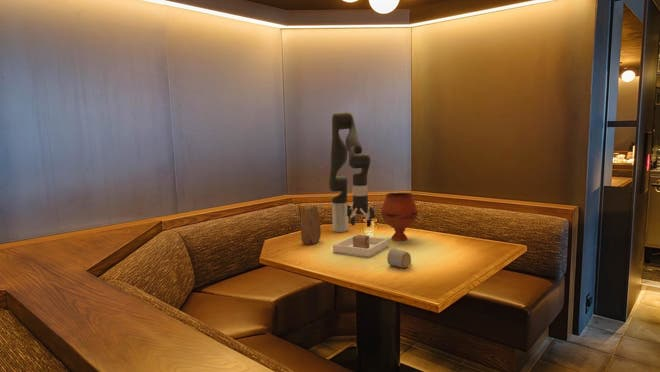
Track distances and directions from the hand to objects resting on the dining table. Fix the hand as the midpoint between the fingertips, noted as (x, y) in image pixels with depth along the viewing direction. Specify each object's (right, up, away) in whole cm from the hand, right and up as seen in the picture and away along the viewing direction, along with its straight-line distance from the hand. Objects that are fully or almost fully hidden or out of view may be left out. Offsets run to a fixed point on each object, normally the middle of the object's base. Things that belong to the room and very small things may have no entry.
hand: (360, 226), depth 212 cm
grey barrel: (+16, -15, -26) cm, 34 cm away
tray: (0, -12, +1) cm, 12 cm away
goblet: (+23, -9, +20) cm, 32 cm away
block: (-25, -11, +19) cm, 33 cm away
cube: (0, -11, +1) cm, 11 cm away
